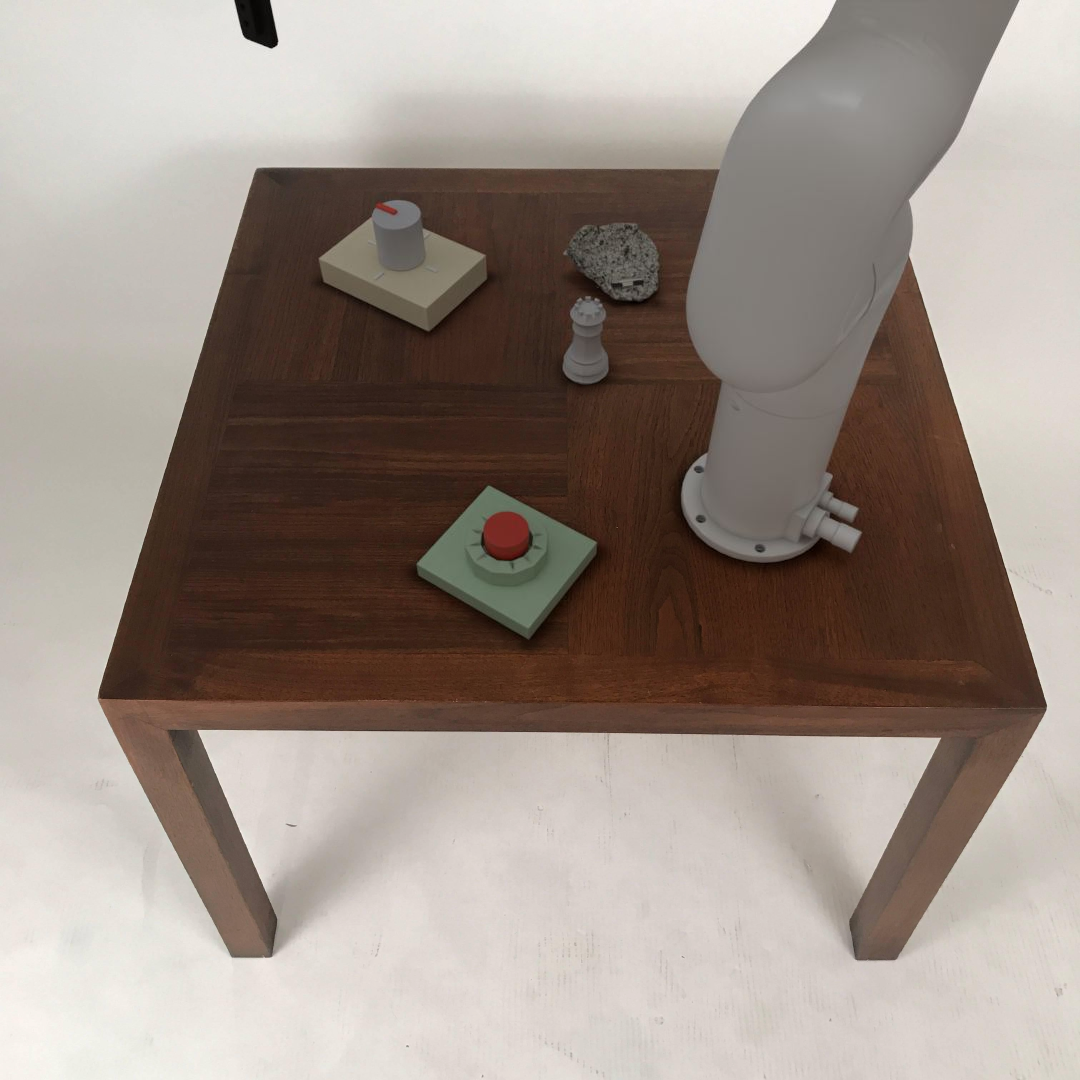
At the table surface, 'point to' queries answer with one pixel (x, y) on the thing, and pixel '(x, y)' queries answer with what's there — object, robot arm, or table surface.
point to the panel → (405, 276)
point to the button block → (507, 564)
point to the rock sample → (617, 259)
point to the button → (506, 535)
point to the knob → (399, 235)
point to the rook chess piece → (586, 343)
